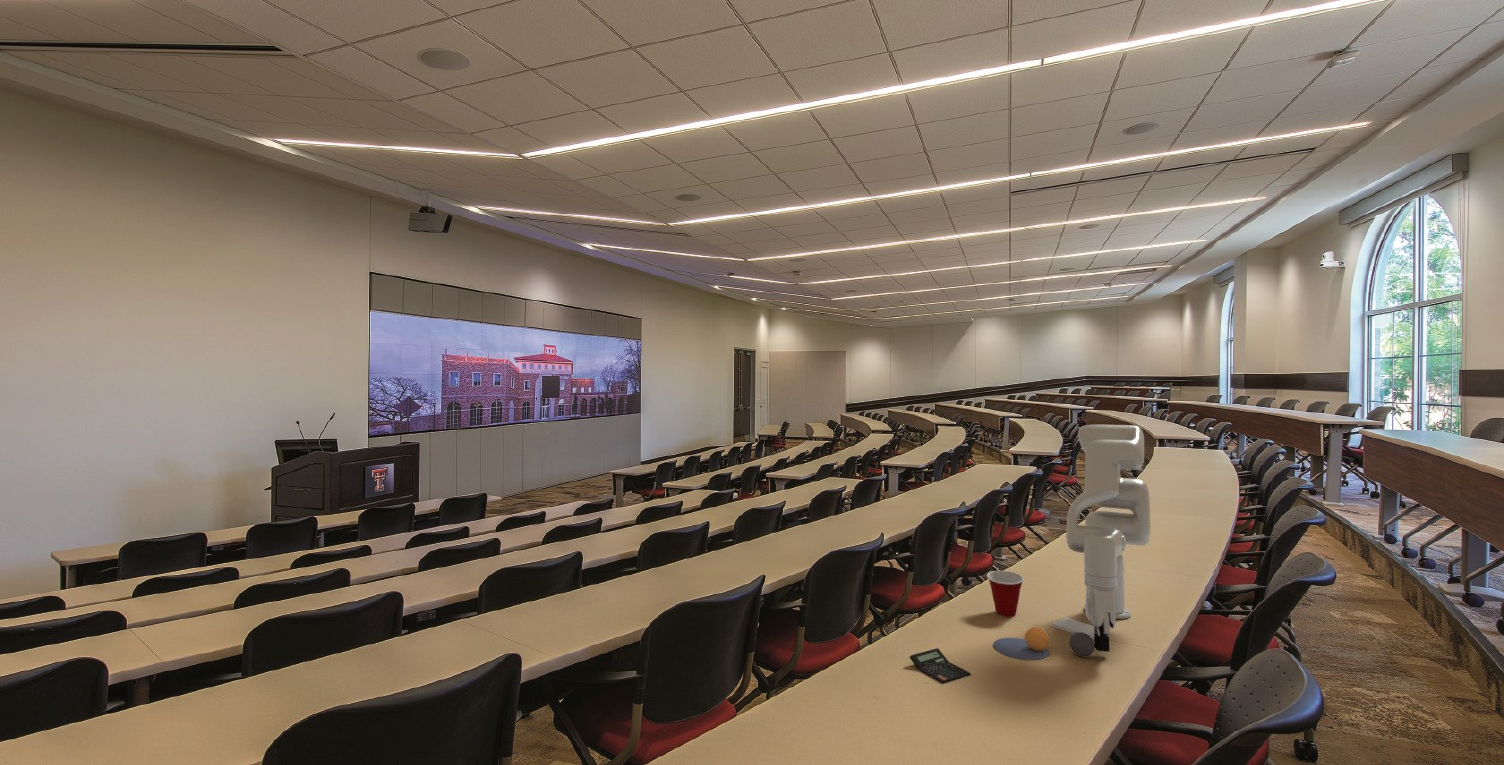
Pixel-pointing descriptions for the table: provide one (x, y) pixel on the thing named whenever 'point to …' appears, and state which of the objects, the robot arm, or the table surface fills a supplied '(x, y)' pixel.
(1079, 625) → the hard drive
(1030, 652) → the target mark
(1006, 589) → the plastic cup
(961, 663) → the table surface
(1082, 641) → the gray ball
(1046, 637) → the object ball
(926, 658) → the calculator
